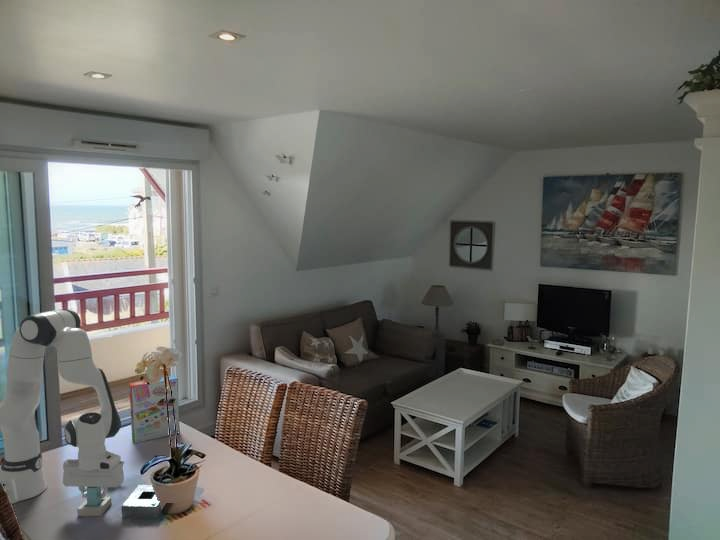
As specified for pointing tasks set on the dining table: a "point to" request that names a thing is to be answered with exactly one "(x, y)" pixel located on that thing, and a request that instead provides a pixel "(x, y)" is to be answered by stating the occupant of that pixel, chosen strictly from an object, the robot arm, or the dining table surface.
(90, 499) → the plug
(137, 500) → the panel
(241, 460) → the dining table surface
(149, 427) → the game box
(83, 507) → the cream square frame
